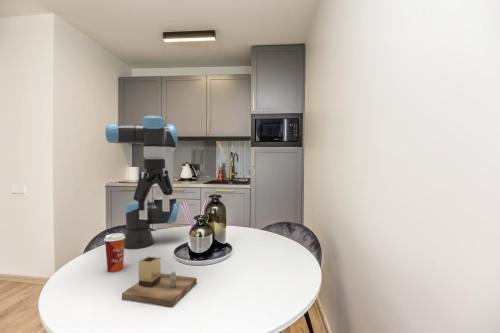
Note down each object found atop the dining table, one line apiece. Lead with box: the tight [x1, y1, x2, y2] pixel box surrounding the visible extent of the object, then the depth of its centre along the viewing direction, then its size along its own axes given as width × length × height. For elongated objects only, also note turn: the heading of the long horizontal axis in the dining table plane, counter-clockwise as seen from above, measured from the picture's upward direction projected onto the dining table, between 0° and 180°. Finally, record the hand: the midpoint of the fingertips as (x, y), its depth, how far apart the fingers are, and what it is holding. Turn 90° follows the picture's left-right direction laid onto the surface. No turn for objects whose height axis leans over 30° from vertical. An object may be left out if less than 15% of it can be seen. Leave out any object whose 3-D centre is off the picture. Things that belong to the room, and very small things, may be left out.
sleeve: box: [137, 255, 162, 287], centre depth 89 cm, size 5×5×8 cm
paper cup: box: [103, 232, 125, 273], centre depth 107 cm, size 8×8×14 cm
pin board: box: [121, 271, 198, 308], centre depth 88 cm, size 16×18×7 cm
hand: (155, 215), depth 98 cm, fingers open, 13 cm apart
